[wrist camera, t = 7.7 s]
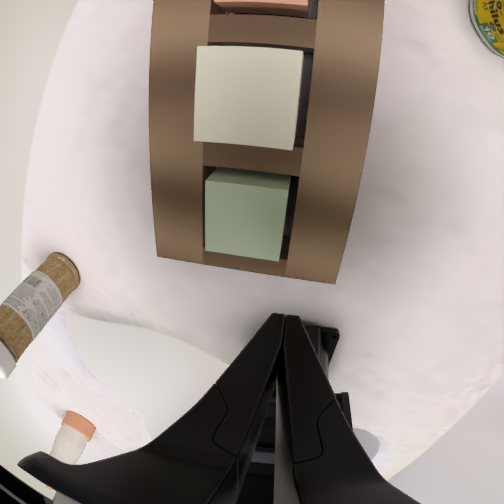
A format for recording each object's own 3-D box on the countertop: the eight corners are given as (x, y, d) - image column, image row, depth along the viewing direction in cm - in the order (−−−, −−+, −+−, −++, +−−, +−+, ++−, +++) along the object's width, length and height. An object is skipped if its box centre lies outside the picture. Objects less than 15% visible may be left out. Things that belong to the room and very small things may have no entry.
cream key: (294, 137, 15) (292, 150, 13) (212, 129, 16) (193, 141, 13) (303, 56, 13) (302, 51, 11) (216, 50, 13) (197, 46, 11)
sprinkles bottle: (50, 277, 29) (-23, 363, 18) (47, 244, 27) (-40, 332, 15) (82, 294, 29) (11, 389, 18) (81, 261, 27) (-5, 361, 16)
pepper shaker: (62, 406, 52) (27, 474, 36) (89, 418, 51) (54, 491, 35) (74, 421, 56) (43, 485, 39) (100, 433, 55) (69, 500, 39)
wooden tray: (332, 259, 22) (335, 284, 20) (173, 235, 23) (157, 256, 21) (375, -50, 10) (385, -67, 8) (182, -58, 12) (163, -73, 9)
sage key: (282, 236, 21) (278, 261, 18) (218, 227, 21) (205, 250, 19) (291, 173, 18) (288, 190, 16) (219, 164, 19) (205, 180, 16)
